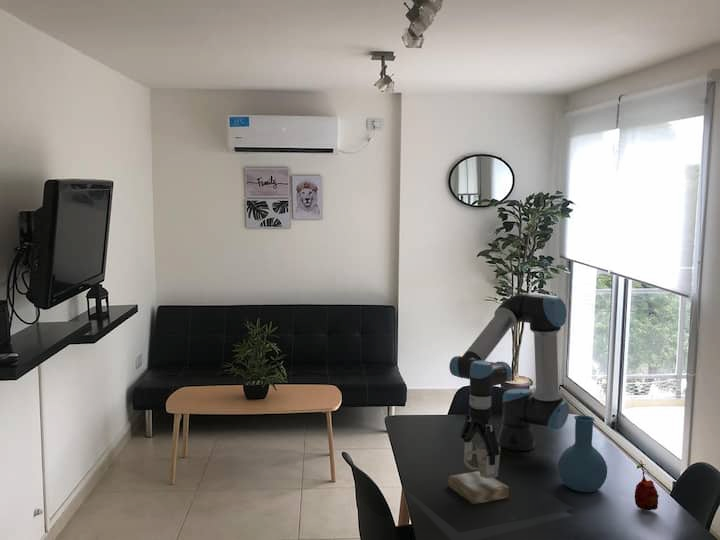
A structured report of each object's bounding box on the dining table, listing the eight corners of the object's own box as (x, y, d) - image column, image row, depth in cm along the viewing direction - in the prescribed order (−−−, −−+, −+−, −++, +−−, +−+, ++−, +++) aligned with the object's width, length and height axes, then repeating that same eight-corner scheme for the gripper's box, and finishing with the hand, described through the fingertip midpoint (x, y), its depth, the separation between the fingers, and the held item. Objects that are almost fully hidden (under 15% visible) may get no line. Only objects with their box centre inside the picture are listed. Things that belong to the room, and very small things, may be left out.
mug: (501, 479, 218) (500, 450, 218) (463, 478, 220) (462, 449, 220) (501, 471, 226) (500, 443, 226) (464, 470, 228) (463, 442, 228)
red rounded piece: (645, 513, 211) (647, 468, 209) (628, 504, 217) (630, 460, 216) (662, 509, 214) (664, 465, 213) (645, 501, 220) (647, 457, 219)
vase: (582, 500, 220) (585, 427, 218) (547, 482, 235) (549, 414, 233) (617, 491, 228) (619, 421, 226) (580, 474, 242) (583, 409, 241)
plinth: (481, 480, 236) (482, 469, 236) (508, 497, 221) (508, 486, 221) (448, 486, 230) (448, 475, 230) (473, 504, 216) (473, 492, 215)
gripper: (451, 398, 234) (450, 456, 235) (492, 417, 211) (490, 481, 212) (469, 396, 237) (468, 453, 238) (511, 415, 214) (509, 478, 215)
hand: (478, 466), depth 225 cm, fingers open, 13 cm apart
